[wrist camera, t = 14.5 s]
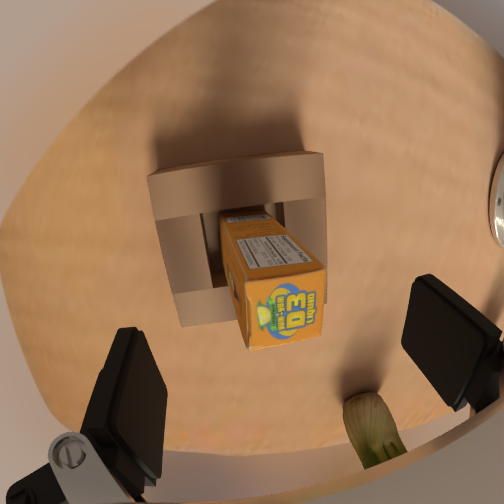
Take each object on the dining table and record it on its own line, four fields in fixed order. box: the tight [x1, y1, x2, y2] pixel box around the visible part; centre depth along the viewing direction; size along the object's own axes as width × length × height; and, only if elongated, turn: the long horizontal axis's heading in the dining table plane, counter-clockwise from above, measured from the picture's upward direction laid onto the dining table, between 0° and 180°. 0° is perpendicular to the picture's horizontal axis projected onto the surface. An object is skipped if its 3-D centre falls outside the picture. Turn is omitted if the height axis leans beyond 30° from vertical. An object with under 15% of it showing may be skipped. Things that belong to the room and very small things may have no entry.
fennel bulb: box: [343, 392, 407, 470], centre depth 25 cm, size 6×5×12 cm
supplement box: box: [219, 210, 327, 351], centre depth 15 cm, size 3×4×10 cm
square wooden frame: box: [147, 151, 327, 327], centre depth 19 cm, size 10×10×4 cm
